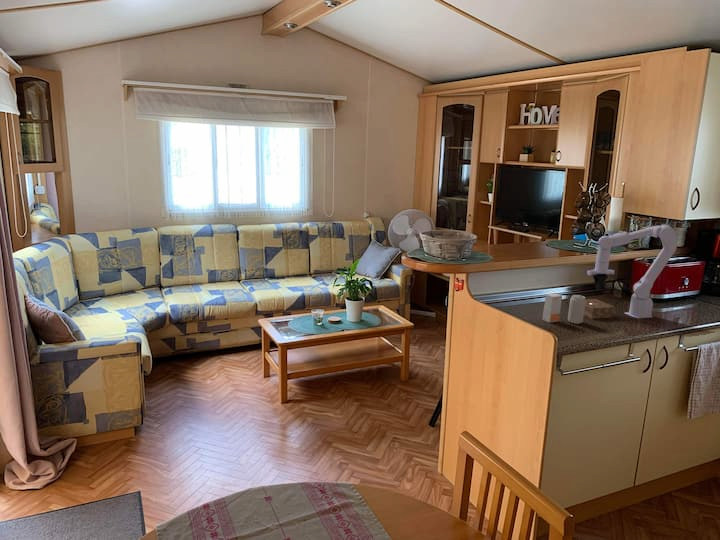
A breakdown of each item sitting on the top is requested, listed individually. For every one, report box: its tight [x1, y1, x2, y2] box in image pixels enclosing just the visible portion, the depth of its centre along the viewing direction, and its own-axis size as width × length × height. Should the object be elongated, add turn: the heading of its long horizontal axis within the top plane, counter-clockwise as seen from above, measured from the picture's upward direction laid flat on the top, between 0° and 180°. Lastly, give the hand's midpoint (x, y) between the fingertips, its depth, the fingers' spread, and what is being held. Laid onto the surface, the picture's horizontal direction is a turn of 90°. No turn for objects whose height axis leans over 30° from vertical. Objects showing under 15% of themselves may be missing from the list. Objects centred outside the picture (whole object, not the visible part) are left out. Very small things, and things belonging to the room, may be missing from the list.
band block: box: [584, 298, 616, 320], centre depth 260 cm, size 13×13×5 cm
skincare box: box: [541, 293, 563, 323], centre depth 245 cm, size 6×4×12 cm
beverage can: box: [567, 294, 587, 325], centre depth 245 cm, size 6×6×12 cm
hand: (598, 289), depth 265 cm, fingers closed
